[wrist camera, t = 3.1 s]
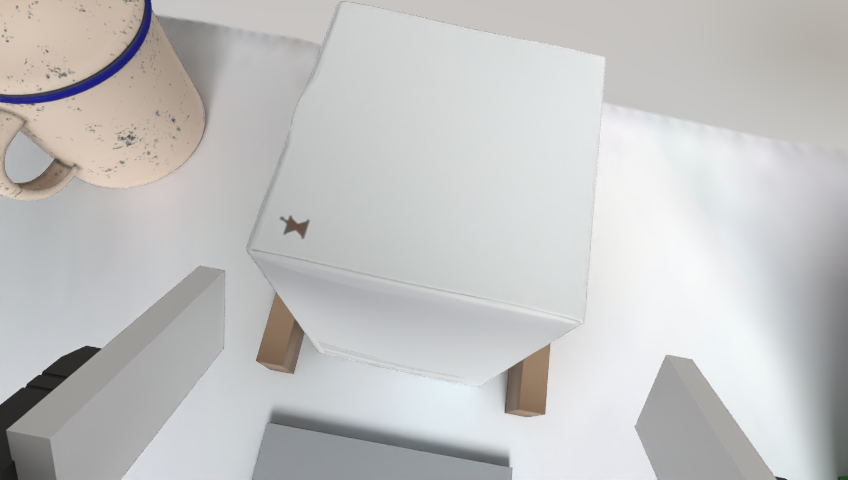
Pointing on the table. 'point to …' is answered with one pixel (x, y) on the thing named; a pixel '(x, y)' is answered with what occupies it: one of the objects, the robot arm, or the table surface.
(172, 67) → the teacup with lid
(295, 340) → the walnut cradle
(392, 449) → the slate mat
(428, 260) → the supplement box
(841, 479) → the milk carton
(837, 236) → the table surface
